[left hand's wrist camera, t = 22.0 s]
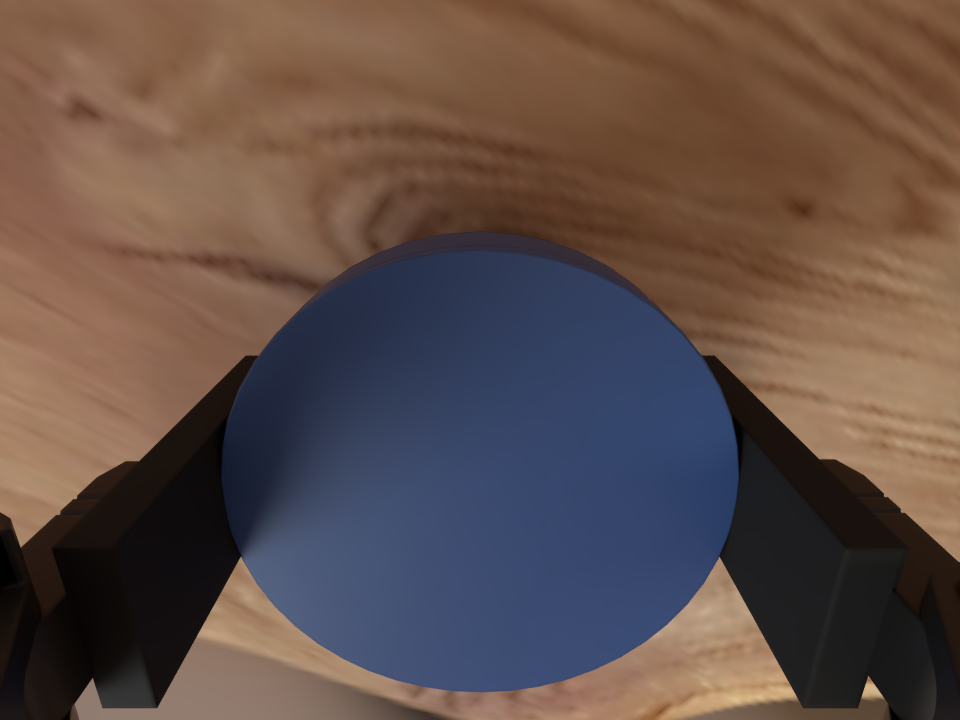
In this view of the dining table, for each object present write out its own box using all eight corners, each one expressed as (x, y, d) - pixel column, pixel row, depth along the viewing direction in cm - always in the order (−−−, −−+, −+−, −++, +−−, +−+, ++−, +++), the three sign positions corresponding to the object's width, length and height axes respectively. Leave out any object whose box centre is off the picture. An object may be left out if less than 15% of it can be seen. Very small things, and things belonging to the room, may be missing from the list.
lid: (378, 673, 14) (367, 741, 13) (163, 344, 11) (112, 380, 10) (754, 554, 13) (791, 612, 11) (625, 145, 10) (652, 149, 8)
